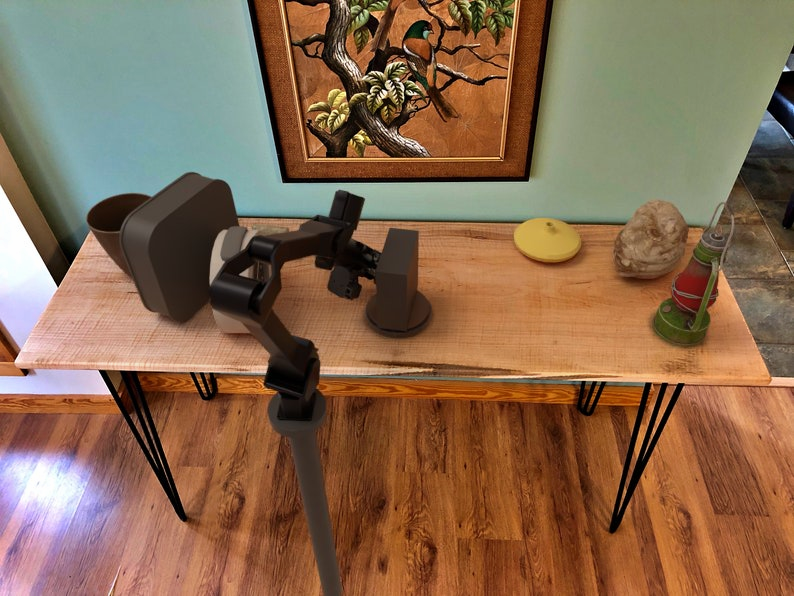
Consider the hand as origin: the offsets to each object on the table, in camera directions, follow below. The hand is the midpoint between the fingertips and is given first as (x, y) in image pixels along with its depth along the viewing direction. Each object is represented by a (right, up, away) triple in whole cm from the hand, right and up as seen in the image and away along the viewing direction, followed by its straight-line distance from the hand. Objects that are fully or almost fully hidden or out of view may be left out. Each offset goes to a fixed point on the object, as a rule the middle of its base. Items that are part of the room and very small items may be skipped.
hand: (379, 267), depth 132 cm
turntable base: (+4, -10, 0) cm, 11 cm away
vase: (+39, +5, +17) cm, 43 cm away
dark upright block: (+4, -9, -1) cm, 10 cm away
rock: (+60, +1, +11) cm, 61 cm away
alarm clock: (-28, -9, +2) cm, 29 cm away
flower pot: (-55, 0, +13) cm, 57 cm away
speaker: (-41, -5, +7) cm, 42 cm away
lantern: (+62, -13, -3) cm, 63 cm away
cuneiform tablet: (-25, +5, +17) cm, 31 cm away
